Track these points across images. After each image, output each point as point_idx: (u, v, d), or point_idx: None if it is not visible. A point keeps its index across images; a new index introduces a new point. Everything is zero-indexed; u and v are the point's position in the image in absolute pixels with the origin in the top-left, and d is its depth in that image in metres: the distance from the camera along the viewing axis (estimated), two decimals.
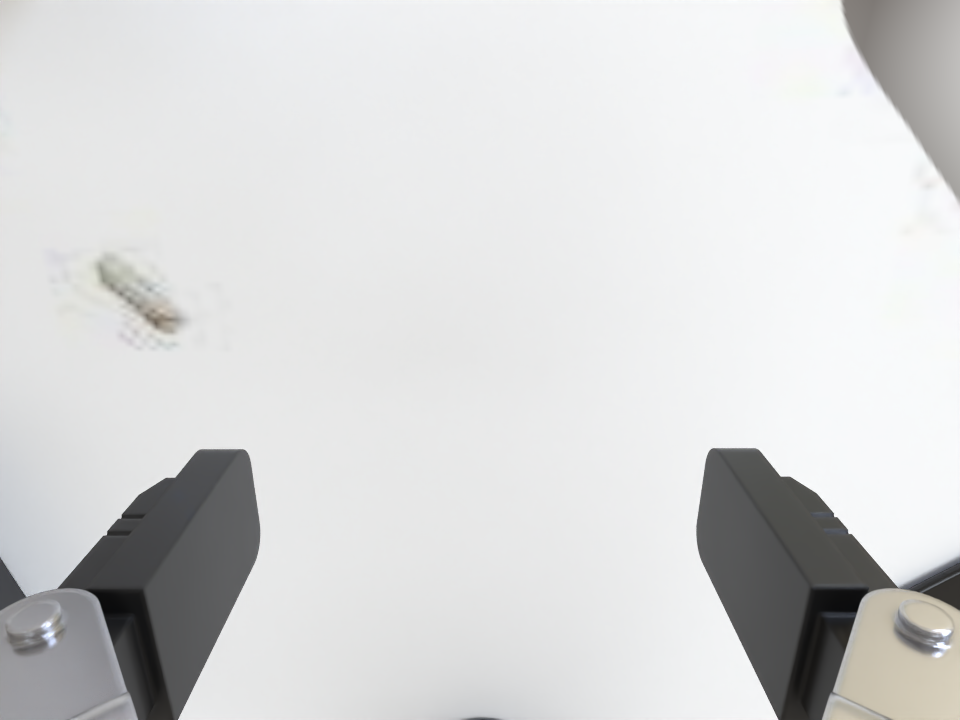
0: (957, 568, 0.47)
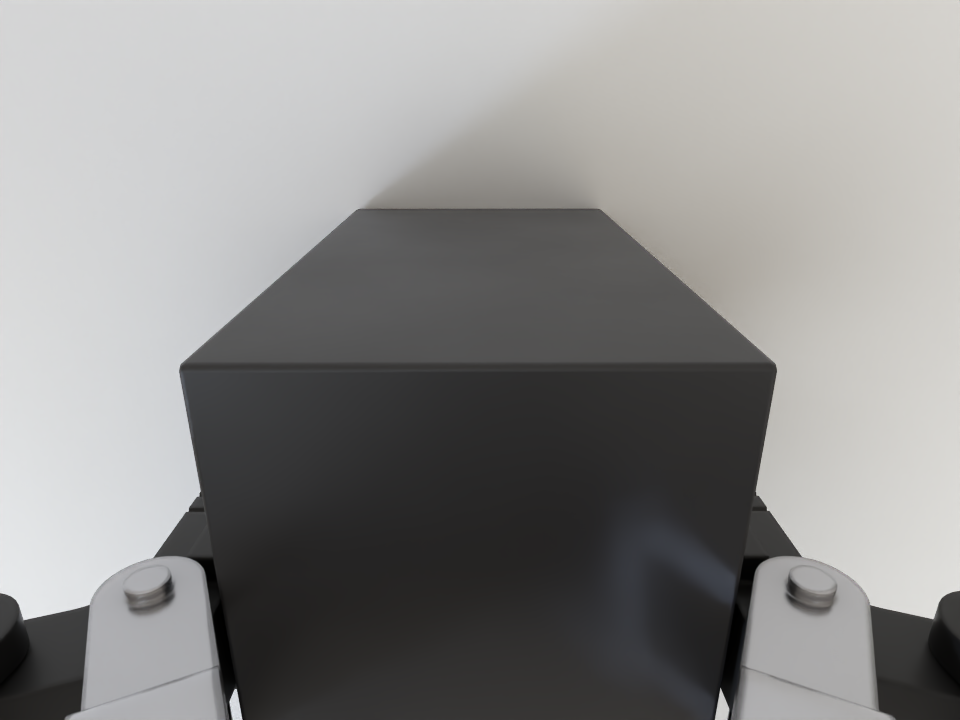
0: None
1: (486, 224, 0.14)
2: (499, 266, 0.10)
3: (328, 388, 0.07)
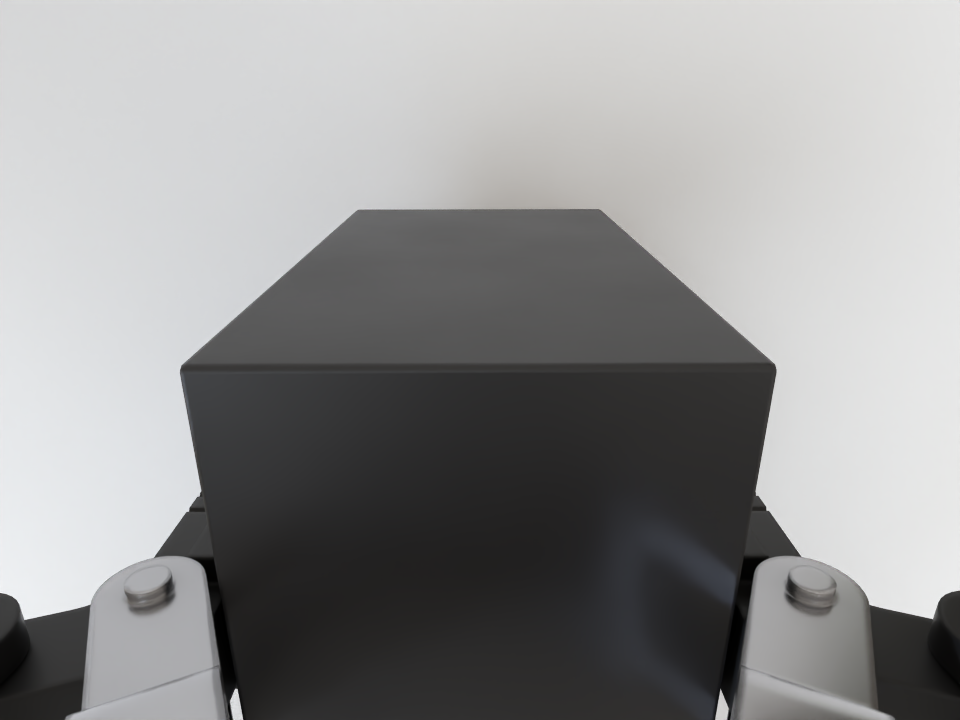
0: None
1: (486, 225, 0.14)
2: (499, 267, 0.10)
3: (329, 389, 0.07)
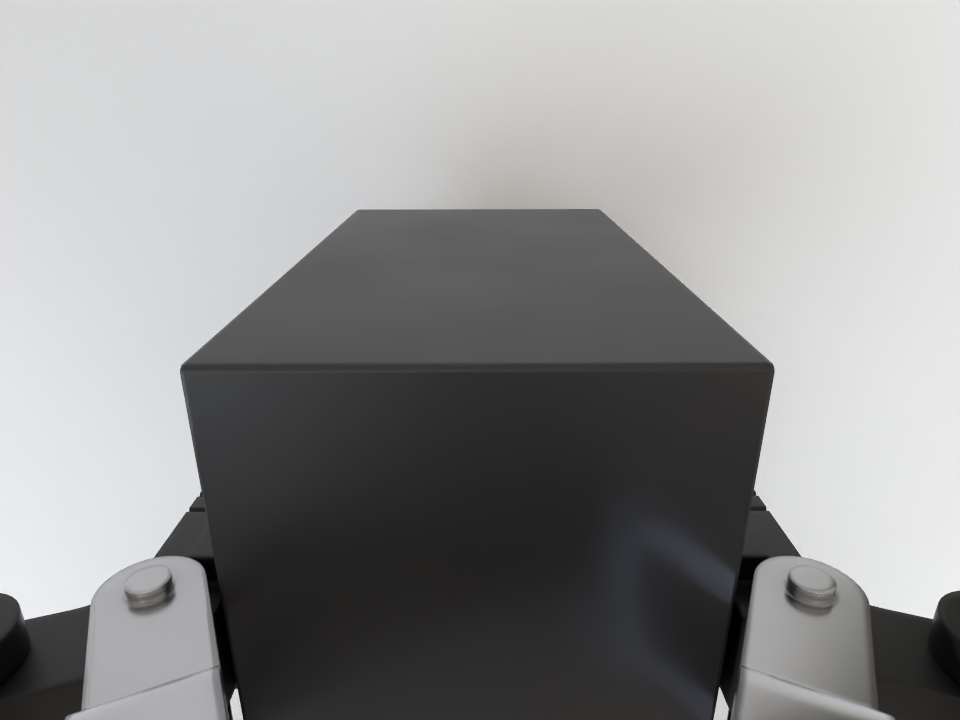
0: None
1: (486, 225, 0.14)
2: (499, 267, 0.11)
3: (328, 389, 0.07)
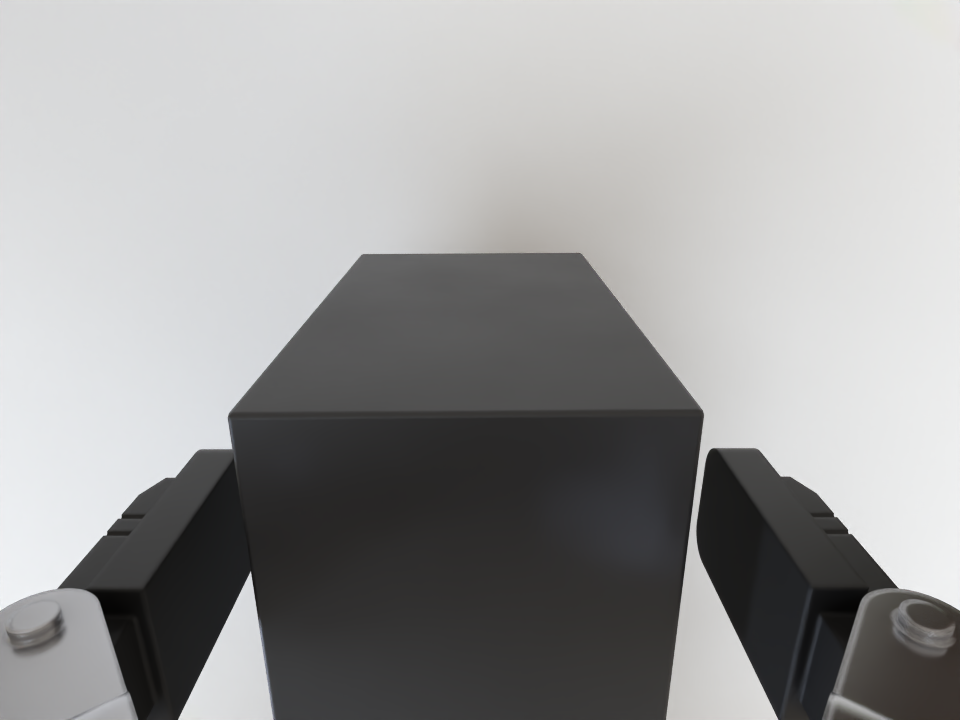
0: None
1: (478, 271, 0.16)
2: (487, 317, 0.12)
3: (346, 432, 0.08)
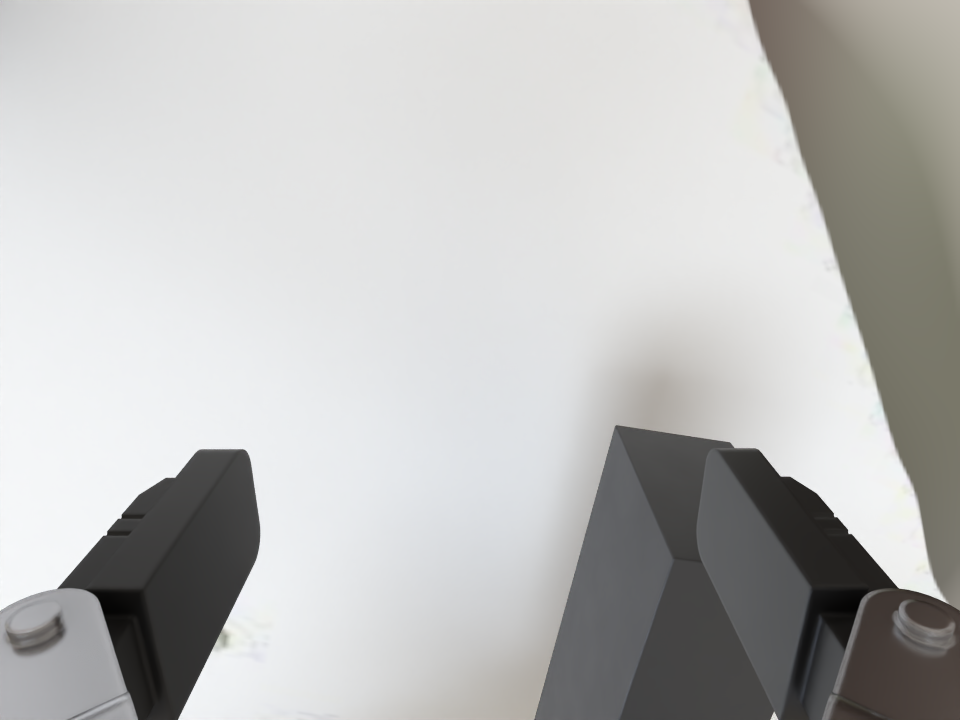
0: None
1: (690, 456, 0.31)
2: None
3: None
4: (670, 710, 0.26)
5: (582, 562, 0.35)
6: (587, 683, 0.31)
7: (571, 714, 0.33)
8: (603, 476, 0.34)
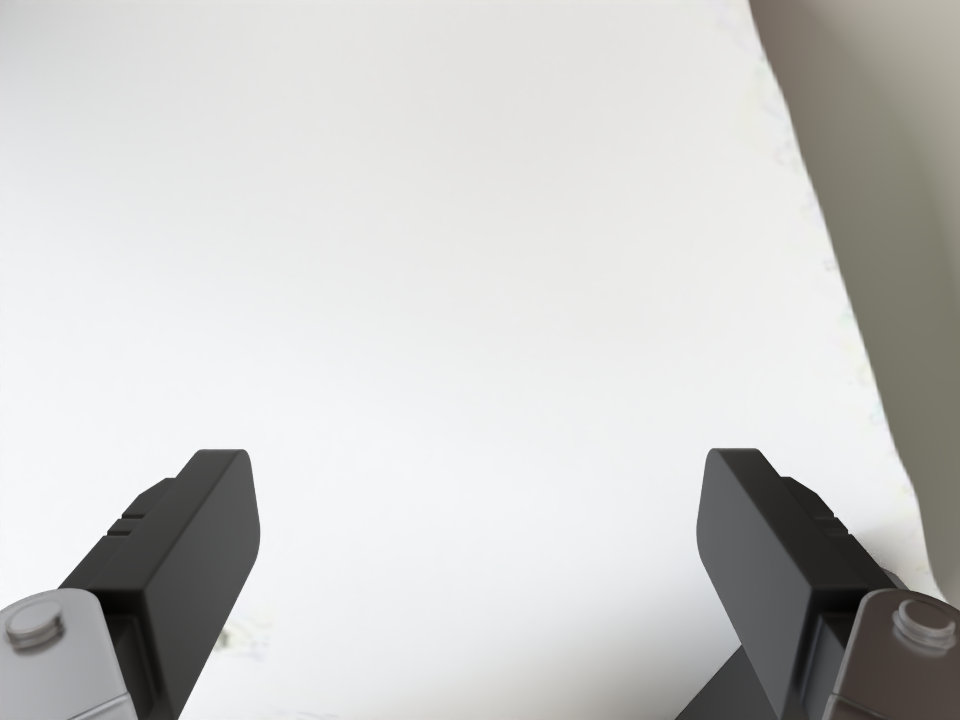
0: None
1: None
2: None
3: None
4: None
5: None
6: None
7: None
8: None
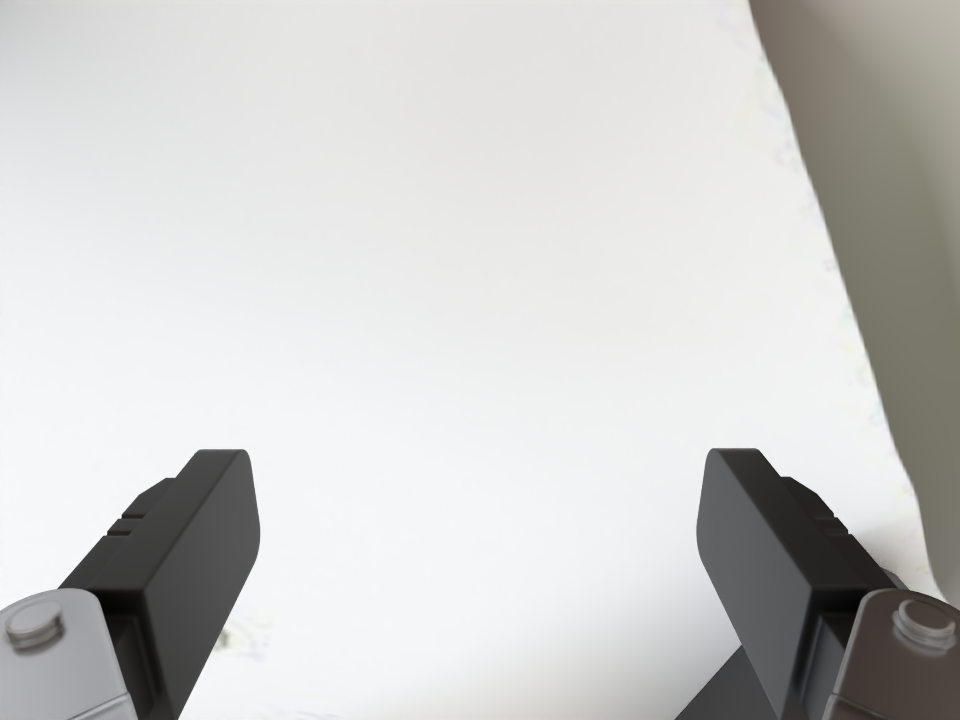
0: None
1: None
2: None
3: None
4: None
5: None
6: None
7: None
8: None
